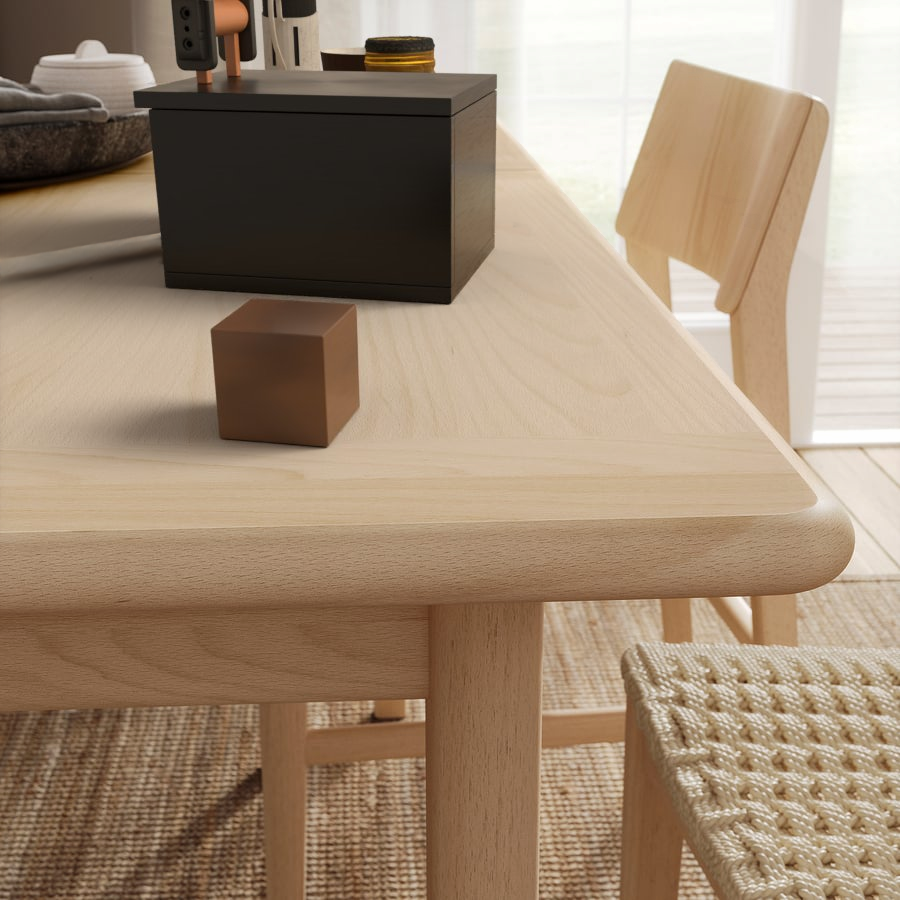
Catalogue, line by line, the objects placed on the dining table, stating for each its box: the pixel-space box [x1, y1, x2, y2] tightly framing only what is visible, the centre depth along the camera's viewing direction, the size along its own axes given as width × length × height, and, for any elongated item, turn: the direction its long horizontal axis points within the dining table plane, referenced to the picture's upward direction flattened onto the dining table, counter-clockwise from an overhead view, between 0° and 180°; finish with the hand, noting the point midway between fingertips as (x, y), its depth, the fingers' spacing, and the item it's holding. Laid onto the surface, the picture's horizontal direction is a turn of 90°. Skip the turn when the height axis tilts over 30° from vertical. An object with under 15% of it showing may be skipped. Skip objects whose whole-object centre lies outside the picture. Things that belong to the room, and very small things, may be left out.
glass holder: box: [261, 0, 321, 71], centre depth 162 cm, size 9×14×15 cm, turn 172°
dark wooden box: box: [148, 89, 498, 305], centre depth 70 cm, size 17×14×10 cm
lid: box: [132, 0, 498, 116], centre depth 67 cm, size 18×14×5 cm
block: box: [210, 297, 361, 448], centre depth 47 cm, size 4×4×4 cm
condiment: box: [363, 35, 436, 73], centre depth 90 cm, size 7×8×12 cm
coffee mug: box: [319, 46, 367, 72], centre depth 102 cm, size 12×9×10 cm
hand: (218, 64), depth 69 cm, fingers closed on lid, 5 cm apart
